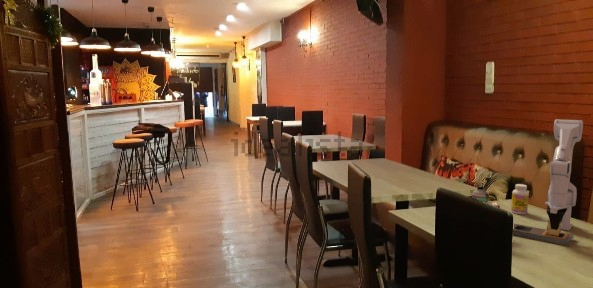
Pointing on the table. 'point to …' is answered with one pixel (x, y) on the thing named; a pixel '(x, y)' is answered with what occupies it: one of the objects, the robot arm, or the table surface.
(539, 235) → the grey slotted board
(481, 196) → the spray can
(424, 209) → the table surface
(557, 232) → the tan square knob peg
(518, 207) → the supplement bottle
